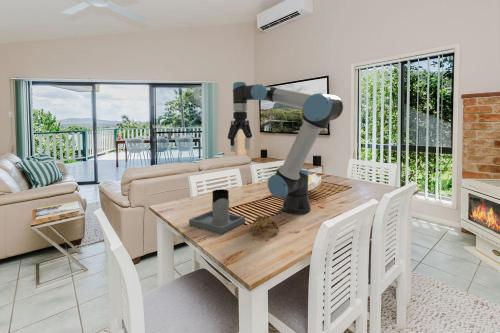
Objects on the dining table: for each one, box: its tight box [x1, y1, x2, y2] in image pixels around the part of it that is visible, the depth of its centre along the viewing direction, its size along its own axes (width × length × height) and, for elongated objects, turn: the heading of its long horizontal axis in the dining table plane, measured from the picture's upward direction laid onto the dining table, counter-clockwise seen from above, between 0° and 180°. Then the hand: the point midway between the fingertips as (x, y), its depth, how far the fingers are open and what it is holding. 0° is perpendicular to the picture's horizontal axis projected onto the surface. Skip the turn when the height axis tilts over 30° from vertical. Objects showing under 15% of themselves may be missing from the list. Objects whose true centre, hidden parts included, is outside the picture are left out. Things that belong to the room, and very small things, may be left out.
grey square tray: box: [188, 210, 246, 235], centre depth 140 cm, size 20×17×3 cm
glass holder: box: [211, 188, 230, 225], centre depth 142 cm, size 9×14×15 cm, turn 18°
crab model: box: [249, 215, 280, 238], centre depth 132 cm, size 15×13×6 cm
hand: (240, 150), depth 165 cm, fingers open, 13 cm apart
